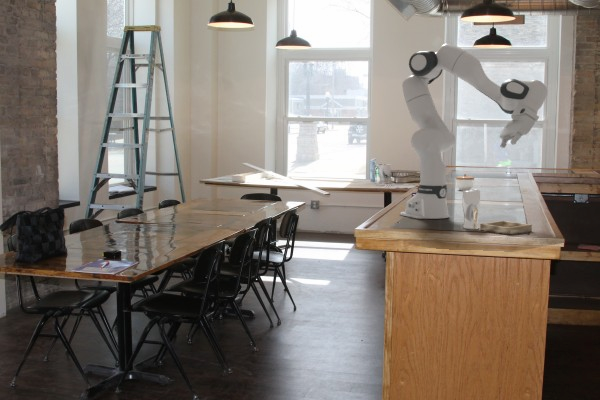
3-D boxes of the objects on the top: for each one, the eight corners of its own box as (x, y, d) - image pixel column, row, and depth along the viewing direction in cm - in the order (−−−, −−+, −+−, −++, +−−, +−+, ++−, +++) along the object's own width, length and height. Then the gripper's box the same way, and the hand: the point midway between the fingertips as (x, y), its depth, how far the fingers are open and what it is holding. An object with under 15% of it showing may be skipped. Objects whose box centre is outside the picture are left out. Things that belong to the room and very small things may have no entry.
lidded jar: (472, 189, 447) (473, 173, 446) (475, 191, 437) (475, 175, 436) (454, 189, 449) (454, 173, 447) (456, 190, 438) (456, 175, 437)
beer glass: (466, 229, 290) (467, 191, 289) (459, 227, 297) (459, 189, 296) (482, 229, 292) (483, 191, 290) (475, 226, 299) (476, 189, 297)
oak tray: (480, 230, 288) (480, 223, 288) (502, 227, 296) (503, 220, 296) (508, 235, 278) (509, 228, 277) (531, 231, 286) (531, 224, 285)
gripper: (505, 117, 313) (490, 145, 311) (528, 108, 293) (512, 137, 291) (517, 125, 314) (502, 153, 312) (541, 116, 294) (525, 146, 292)
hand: (507, 145), depth 301 cm, fingers open, 8 cm apart
